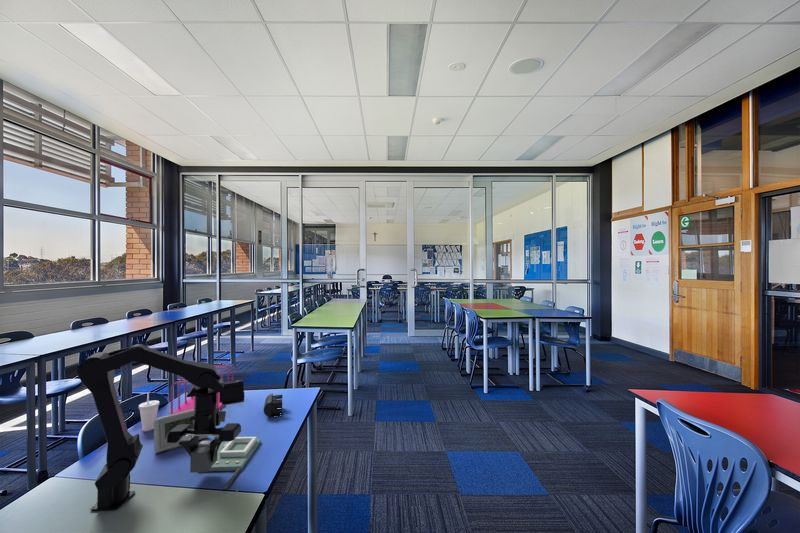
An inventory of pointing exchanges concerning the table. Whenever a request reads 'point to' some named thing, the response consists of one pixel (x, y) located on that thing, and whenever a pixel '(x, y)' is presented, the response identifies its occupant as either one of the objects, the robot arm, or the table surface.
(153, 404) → the smoothie
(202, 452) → the plug
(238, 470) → the lead
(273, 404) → the power adapter
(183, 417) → the digital clock
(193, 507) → the table surface
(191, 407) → the file sorter
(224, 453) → the header board
